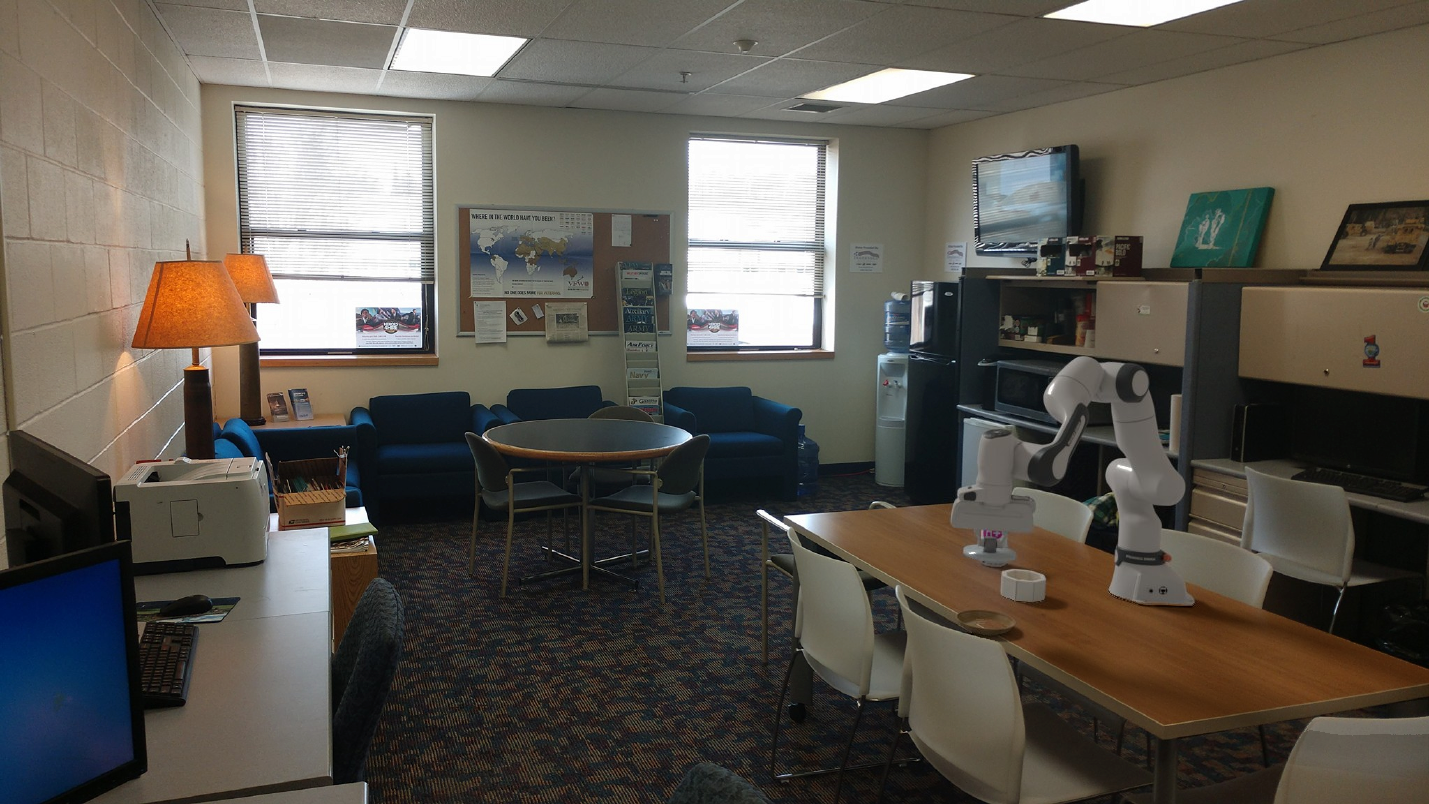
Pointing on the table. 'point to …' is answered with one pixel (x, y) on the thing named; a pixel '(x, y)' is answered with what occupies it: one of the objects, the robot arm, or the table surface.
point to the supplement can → (998, 535)
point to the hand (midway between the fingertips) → (990, 547)
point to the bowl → (1023, 585)
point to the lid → (989, 551)
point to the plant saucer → (970, 616)
